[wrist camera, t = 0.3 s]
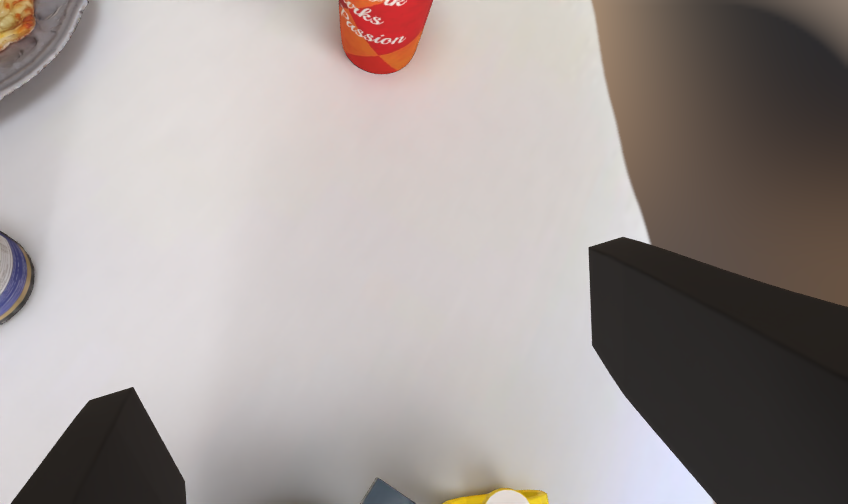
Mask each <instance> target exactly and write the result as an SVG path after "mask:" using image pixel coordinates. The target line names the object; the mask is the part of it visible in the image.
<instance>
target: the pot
mask: <svg viewBox="0 0 848 504" xmlns="http://www.w3.org/2000/svg"><path fill="white" fill-rule="evenodd" d="M360 504H416V503H415V502H413V501H412V500H410V499H409V498H407V497H406V496H404V495H403V494H401V493H400V492H398V491H397V490H396V489H394V488H393V487H391V486H390V485H388V484H387V483H385V482H384V481H382V480H381V479H379V478H378V477H377V478H376V479H375V480H374V482H373V484H372V485H371V487H370V488H369V490H368V492H367V493H366V495H365V496H364V498H363V500H362V501H361V503H360Z"/></svg>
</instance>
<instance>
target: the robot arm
mask: <svg viewBox="0 0 848 504" xmlns="http://www.w3.org/2000/svg"><path fill="white" fill-rule="evenodd" d="M589 271H590V298H591V325H592V346H593V347H594V349H595V351H596V352H597V354H598V355H599V357H600V359H601V360H602V362H603V364H604V365H605V367H606V368H607V370H608V372H609V373H610V375H611V376H612V378H613V379H614V381H615V382H616V384H617V385H618V387H619V388H620V390H621V391H622V393H623V394H624V395H625V397H626V398H627V399H628V400H629V401H630V403H631V404H632V405H633V406H634V408H635V409H636V410H637V411H638V412H639V413H640V415H641V416H642V417H643V418H644V419H645V421H646V422H647V423H648V424H649V425H650V426H651V428H652V429H653V430H654V431H655V432H656V434H657V435H658V436H659V437H660V438H661V439H662V441H663V442H664V443H665V444H666V445H667V446H668V448H669V449H670V450H671V451H672V452H673V453H674V454H675V456H676V457H677V458H678V459H679V460H680V461H681V463H682V464H683V465H684V466H685V467H686V468H687V470H688V471H689V472H690V473H691V474H692V475H693V477H694V478H695V479H696V480H697V481H698V482H699V484H700V485H701V486H702V487H703V488H704V489H705V491H706V492H707V493H708V494H709V495H710V496H711V498H712V499H713V500H714V501H715V502H716V503H717V504H848V307H845V306H842V305H838V304H834V303H831V302H827V301H824V300H820V299H817V298H813V297H810V296H806V295H803V294H799V293H795V292H792V291H789V290H785V289H782V288H779V287H776V286H772V285H769V284H766V283H763V282H760V281H757V280H754V279H750V278H747V277H744V276H741V275H738V274H735V273H732V272H729V271H726V270H723V269H720V268H717V267H714V266H711V265H709V264H706V263H702V262H700V261H697V260H694V259H691V258H688V257H685V256H682V255H679V254H677V253H674V252H671V251H668V250H665V249H662V248H659V247H656V246H653V245H649V244H646V243H643V242H640V241H636V240H633V239H629V238H625V237H621V238H618V239H614V240H611V241H608V242H605V243H601V244H598V245H595V246H592V247H589ZM11 504H186V491H185V481H184V479H183V477H182V475H181V473H180V472H179V470H178V468H177V466H176V464H175V462H174V461H173V459H172V457H171V455H170V453H169V452H168V450H167V448H166V446H165V444H164V442H163V441H162V439H161V437H160V435H159V433H158V432H157V430H156V428H155V426H154V424H153V422H152V421H151V419H150V417H149V415H148V413H147V412H146V410H145V408H144V406H143V404H142V402H141V401H140V399H139V397H138V395H137V393H136V391H135V390H134V388H133V387H131V388H128V389H125V390H122V391H118V392H115V393H112V394H109V395H105V396H102V397H99V398H96V399H92V400H89V402H88V403H87V404H86V405H85V406H84V408H83V409H82V410H81V411H80V412H79V414H78V415H77V416H76V417H75V419H74V420H73V421H72V423H71V424H70V425H69V427H68V428H67V429H66V431H65V432H64V433H63V435H62V436H61V437H60V439H59V440H58V441H57V443H56V444H55V445H54V447H53V448H52V449H51V451H50V452H49V453H48V455H47V456H46V457H45V459H44V460H43V461H42V463H41V464H40V466H39V467H38V468H37V470H36V471H35V472H34V474H33V475H32V476H31V478H30V479H29V480H28V481H27V483H26V484H25V485H24V487H23V488H22V489H21V491H20V492H19V493H18V495H17V496H16V497H15V499H14V500H13V501H12V503H11Z"/></svg>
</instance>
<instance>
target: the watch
mask: <svg viewBox="0 0 848 504" xmlns="http://www.w3.org/2000/svg"><path fill="white" fill-rule="evenodd" d="M442 504H548V497H547V494H546V493H545V492H543V491H540V490H513V489H510V488H499V489H496V490H494V491H492V492H491V493H489V494H481V495H474V496H466V497H460V498H456V499H451V500H448V501H446V502H444V503H442Z"/></svg>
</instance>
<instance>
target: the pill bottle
mask: <svg viewBox="0 0 848 504" xmlns="http://www.w3.org/2000/svg"><path fill="white" fill-rule="evenodd" d="M33 285H34V267H33V264H32V262H31V259H30V257H29V255H28V254H27V253H26V252H25V250H24V249H23V247H22V246H21V245H20V244H19V243H17V242H16V241H15V240H13V239H12V238H10V237H8V236H7V235H6V234H4V233H3V232H1V231H0V325H1V324H3V323H4V322H6V321H7V320H9V319H10V318H11V317H12V316H14V315H15V314H16V313H17V312H18V311H19V310H20V309H21V308H22V307H23V306H24V304H25V303H26V301H27V300H28V298H29V296H30V294H31V292H32V288H33Z"/></svg>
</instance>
